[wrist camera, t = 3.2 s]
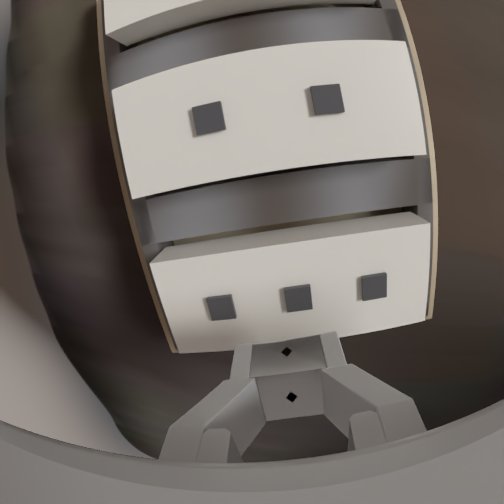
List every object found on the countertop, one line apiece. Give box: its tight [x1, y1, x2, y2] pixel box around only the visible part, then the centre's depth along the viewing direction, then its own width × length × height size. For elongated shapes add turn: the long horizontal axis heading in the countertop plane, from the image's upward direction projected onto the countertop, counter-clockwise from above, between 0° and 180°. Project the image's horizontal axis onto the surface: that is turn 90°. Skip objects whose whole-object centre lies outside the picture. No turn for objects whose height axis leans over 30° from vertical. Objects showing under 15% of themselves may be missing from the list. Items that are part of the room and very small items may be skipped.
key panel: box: [97, 0, 438, 353], centre depth 13 cm, size 16×24×4 cm, turn 10°
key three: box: [149, 212, 430, 353], centre depth 12 cm, size 11×4×2 cm, turn 100°
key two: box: [112, 40, 427, 199], centre depth 10 cm, size 11×4×2 cm, turn 100°
